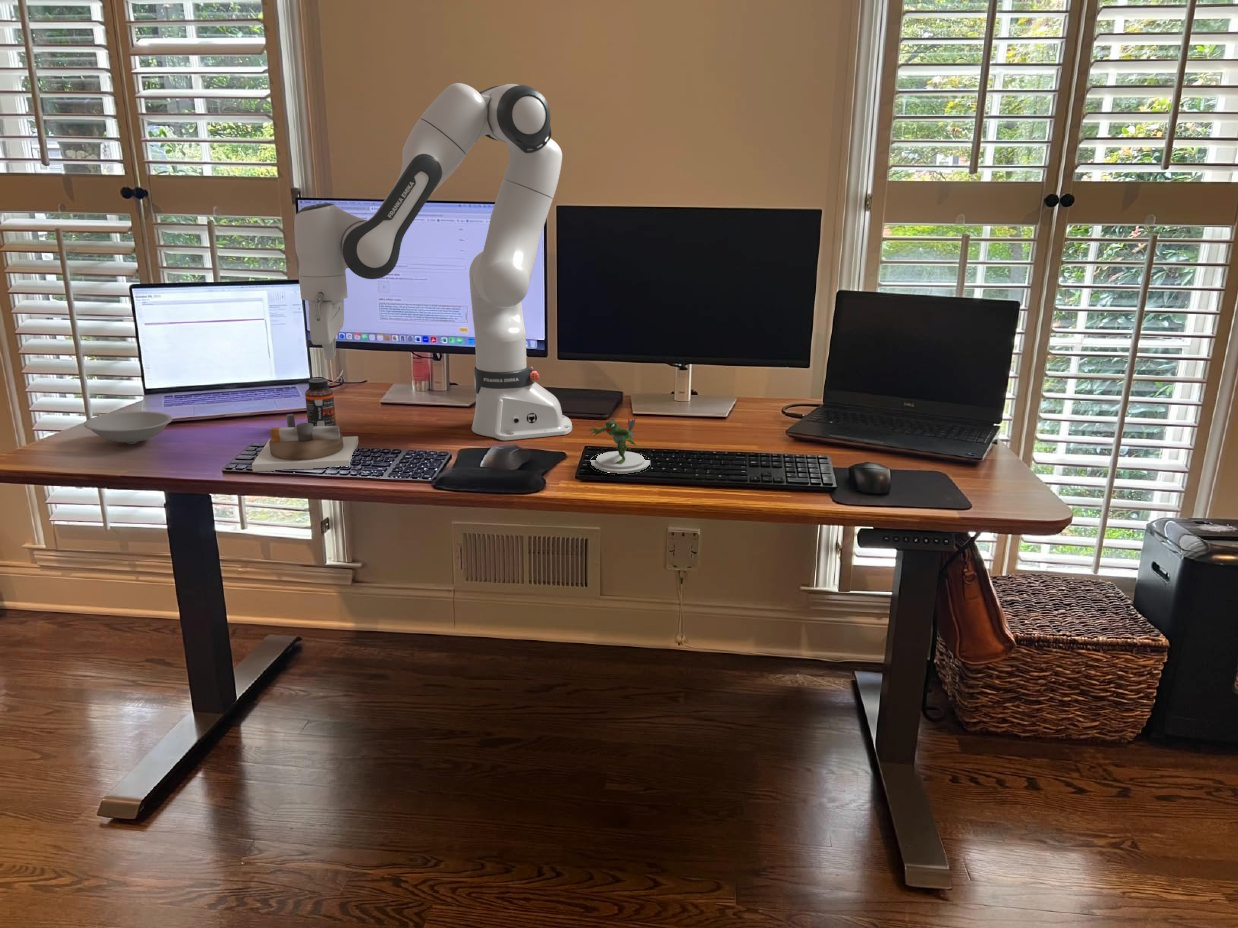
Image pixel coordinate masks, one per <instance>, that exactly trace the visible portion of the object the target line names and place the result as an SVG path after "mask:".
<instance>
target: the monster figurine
mask: <svg viewBox="0 0 1238 928" xmlns="http://www.w3.org/2000/svg"><path fill="white" fill-rule="evenodd" d="M604 422H605V426H603V427H602V428H596V427H594V426H592V428H591V429H589V430H588V432H591V431H592V432H591V433H590V436H591V435H592V434H594V435H593V438H594V437H595V436H597V435H598V434H601V433H603V432H606V433H607V434H608V435H609V436H612V438H613V442H614V443H615V444H617V450H615V451H607V452H603V454H602V453H599V454H600V455H599V454H597V455H598V456H597V458H596V460H591V459H592V458H593V457H591V458H590V460H589V461H590V462H591V465H592V466H594V467H595V468H596V469H599V470H601V471H604V472H610V473H617V474H628V473H634V472H640V471H641V470H644V469H646V468H647V467H648V466H649V465H650V466H651V459H650V458H649V457H648V459H650V460H645V459H644V457H643V456H642V455H643V454H641V455H640V453H636V452H634V451H633V452H632V451H627V449H628V445H627V443H626V442H629V443H630V445H633V446H634V447H636V446H637V445H636V443H635V441H634V440H632V439H633V438H634V436H635V435H636V433H635V431H632V430H633V429H634V427H635V424H636V418H634V419H631V420H630V418H628V420H627V425H628V429H626V428H625V429H624V428H622V427H621V425H619V424H618V422H616V419H614V418H610V419H609V421H606V420H605V421H604ZM590 462H589V463H590ZM640 473H641V472H640ZM628 475H629V474H628Z"/></svg>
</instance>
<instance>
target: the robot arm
mask: <svg viewBox="0 0 1238 928" xmlns="http://www.w3.org/2000/svg"><path fill="white" fill-rule="evenodd" d="M549 106H550V105H549V103H548V101H547V99H546V97H545V96H544V95H543V94H542V93H541V92H540V91H539V90H538V89H535V88H534V87H531V86H529V85H524V84H516V83H506V84H503V85H495V86H491V87H488V88H486V89H485V90H482V91H480V92H479V91H477V89H475V88H474V87H473V86H470V85H468V84H465V83H461V82H456V83H452V84H450V85H449V86H447V87H445V89H444V90H443V91H442V92H440V93H439V94H438V96H437V97H435V99H434V100H433V101H432V102H431V103H430V104H429V105H428V106H427V108H426V109H425V110H424V112H423V113H422V115H420V117H419V118H418V120H417V121H416V122H415V124H414V126H413V127H412V129H411V131H410V133H408V136H407V139H406V141H405V142H404V145H403V147H402V152H401V153H402V155H401V156H402V157H401V158H402V160H401V161H402V162H401V168H400V169H401V170H400V173H399V176H398V178H397V180H396V182H395V184H394V185H393V187H392V189H391V190H390V191H389V193H388V194H387V196H386V197H385V199H384V200H383V202H382V203H381V205H380V207H379V208H378V209H377V211H375V214H374V215H372V217H371V218H370V219H364V218H361V217H358V216H355V215H353V214H351V213H349V212H347V211H345V210H343V209H342V208H340V207H338V206H337V205H336V204H334V203H331V202H323V203H316V204H311V205H308V206H303V207H302V208H300V210H298V211H297V213H296V214H295V216H294V225H293V226H294V227H293V229H294V231H293V232H294V233H293V234H294V235H293V236H294V246H295V254H296V256H297V259H298V265H299V268H298V272H297V274H298V284H299V293H300V299H301V300H302V301H307V303H308V304H307V305H308V321H309V334H310V342H311V344H312V345H315V346H317V345H318V346H321V347H322V350H323V353H324V359H325V360H326V361H333V360H334V359H335V357H336V356H337V351H336V347H337V345H336V344H337V335H338V334H339V333H340V331H341V330H342V328H343V327H344V320H345V303H344V302H345V301H344V300H345V299H347V298H348V297H349V296H348V286H347V285H348V284H347V276H346V274H347V273H346V269H349V270H350V271H351V272H352V273H353V274H355V275H356V276H358V277H360V278H362V279H366V280H378V279H381V278H384V277H386V276H388V275H389V274H391V272H392V271H393V270H394V269H395V267H396V266H397V264H398V261H399V256H400V252H401V247H402V246H401V245H402V243H403V238H404V236H405V235H406V233H407V232H408V230H409V228H410V227H411V225H412V224H413V223H414V220H415V219H416V218H417V216H418V215H419V213H420V212H421V210H422V209H423V207H424V205H425V204H426V202H427V201H428V199H430V197H431V196H432V195H433V194H434V193H435V192H436V191H437V189H438V188H439V187H440V186H442V185H443V184H444V182H446V181H447V179H449V178H450V177H451V176H452V175H453V173H455V171H457V169H458V168H459V166H460V165H461V164H462V162H463V161H464V160H466V159H465V158H467V156H468V155H469V153H470V152H471V150H472V148H473V147H474V145H475V144H476V143H477V142H478V141H479V140H480V139H482V138H483V137H486V138H489V139H491V140H494V141H497V142H501V143H504V144H506V145H507V146H506V147H507V148H508V163H507V164H508V165H507V168H506V169H505V172H504V175H503V178H502V181H501V185H500V187H499V189H498V193H497V196H496V199H495V203H494V205H493V209H492V210H491V211H492V212H491V214H490V218H489V219H490V221H489V223H488V230H487V235H486V239H485V242H484V246H483V250H482V251H481V252H479V253H478V254H477V255H476V256H475V257H474V258H473V260H472V261H471V263H470V267H469V289H470V300H471V310H472V321H473V329H474V346H475V349H474V350H475V367H474V373H473V381H474V383H473V384H474V391H475V393H476V398H475V399H476V400H475V409H474V417H473V422H472V425H471V430H472V432H473V433H475V434H477V435H481V436H485V437H490V438H495V439H497V440H500V441H515V440H523V439H534V438H543V437H544V438H545V437H553V436H562V435H563V436H564V435H568V434H570V433H571V432H572V430H573V425H572V424H573V423H572V421H571V419H570V418H569V417H568V416H566V415H564V414H563V412H562V407H561V403H560V401H559V399H558V398H557V397H556V396H555V395H554V394H553V393H551V392H550V391H548V390H547V389H546V388H544V387H543V386H541V385H540V384H539V383H537V381H539V379H540V374H539V372H538V371H536V369H535V368H533V366H529V365H527V363H528V362H527V335H526V334H527V332H526V331H527V330H526V326H525V319H524V312H523V303H522V302H523V300H524V299H525V297H526V296H527V294H528V291H529V287H530V282H531V280H532V279H531V278H532V276H533V275H532V274H533V271H534V267H535V262H536V259H537V256H538V255H537V254H538V249H539V244H540V240H541V236H542V232H543V230H544V227H545V224H546V222H547V218H548V214H549V212H550V209H551V206H552V203H553V200H554V197H555V195H556V191H557V187H558V184H559V179H560V175H561V168H562V162H563V152H562V149H561V147H560V146H559V144H558V143H557V142H556V141H555V140H554V139H552V129H551V111H550V107H549Z"/></svg>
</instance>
